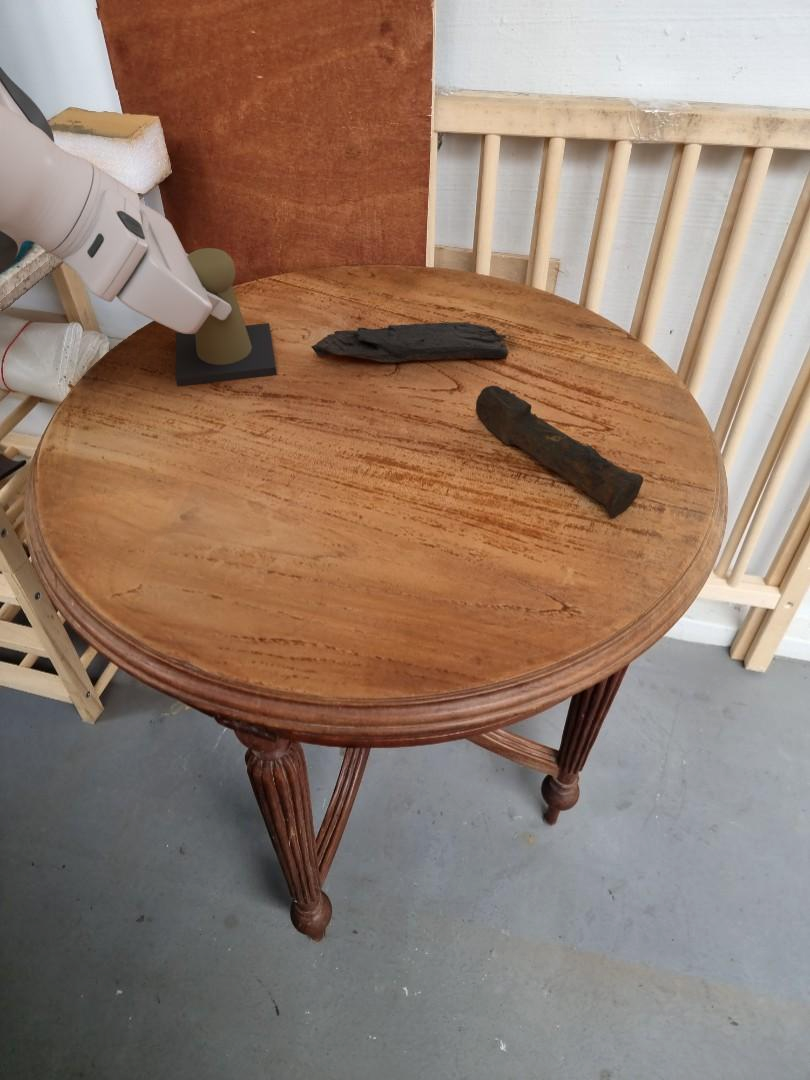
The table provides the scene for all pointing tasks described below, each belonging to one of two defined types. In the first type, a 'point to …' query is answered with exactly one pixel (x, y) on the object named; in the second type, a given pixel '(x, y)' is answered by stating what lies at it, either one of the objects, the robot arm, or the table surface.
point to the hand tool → (557, 449)
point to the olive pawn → (215, 336)
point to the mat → (200, 371)
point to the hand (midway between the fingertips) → (220, 299)
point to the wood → (415, 342)
